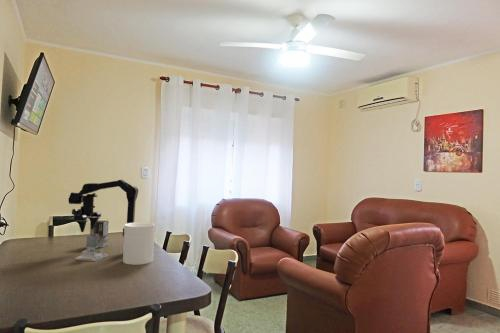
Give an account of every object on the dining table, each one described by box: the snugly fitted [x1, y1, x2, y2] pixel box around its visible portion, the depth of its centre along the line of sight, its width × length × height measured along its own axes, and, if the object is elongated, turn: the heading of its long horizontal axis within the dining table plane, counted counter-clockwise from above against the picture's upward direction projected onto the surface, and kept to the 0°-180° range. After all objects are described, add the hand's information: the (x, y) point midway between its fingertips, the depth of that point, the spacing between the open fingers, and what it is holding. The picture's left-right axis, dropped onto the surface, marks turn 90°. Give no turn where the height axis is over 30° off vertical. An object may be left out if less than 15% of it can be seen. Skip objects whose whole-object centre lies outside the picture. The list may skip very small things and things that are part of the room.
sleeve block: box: [74, 248, 109, 262], centre depth 188 cm, size 12×12×4 cm
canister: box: [122, 221, 156, 266], centre depth 186 cm, size 16×16×20 cm
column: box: [85, 234, 99, 250], centre depth 188 cm, size 4×4×7 cm
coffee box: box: [89, 219, 109, 248], centre depth 216 cm, size 9×6×16 cm
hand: (87, 230), depth 200 cm, fingers open, 9 cm apart
